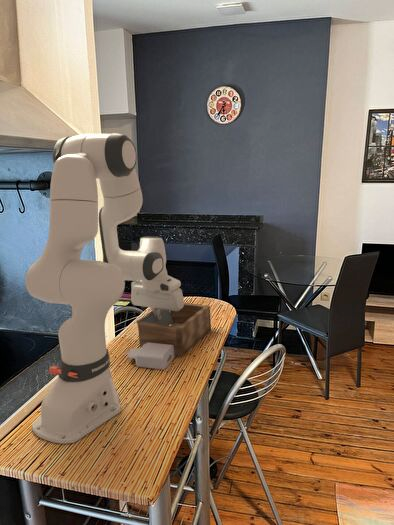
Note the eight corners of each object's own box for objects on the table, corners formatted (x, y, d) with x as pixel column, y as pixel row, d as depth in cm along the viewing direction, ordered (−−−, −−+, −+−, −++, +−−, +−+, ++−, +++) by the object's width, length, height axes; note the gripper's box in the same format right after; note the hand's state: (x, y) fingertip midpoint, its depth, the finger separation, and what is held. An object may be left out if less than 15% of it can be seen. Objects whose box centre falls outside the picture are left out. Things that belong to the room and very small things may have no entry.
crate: (181, 357, 127) (179, 329, 125) (140, 349, 135) (137, 323, 132) (211, 330, 146) (209, 305, 144) (173, 324, 153) (171, 301, 151)
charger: (132, 352, 133) (174, 357, 129) (119, 366, 125) (163, 371, 120) (131, 339, 132) (173, 343, 127) (117, 352, 124) (162, 357, 119)
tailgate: (146, 342, 135) (139, 320, 134) (143, 343, 136) (136, 321, 135) (173, 322, 151) (167, 302, 150) (170, 323, 152) (164, 303, 150)
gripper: (125, 281, 141) (129, 318, 144) (175, 287, 131) (178, 326, 135) (136, 276, 146) (139, 312, 150) (184, 282, 137) (187, 319, 140)
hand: (158, 319), depth 142 cm, fingers closed
